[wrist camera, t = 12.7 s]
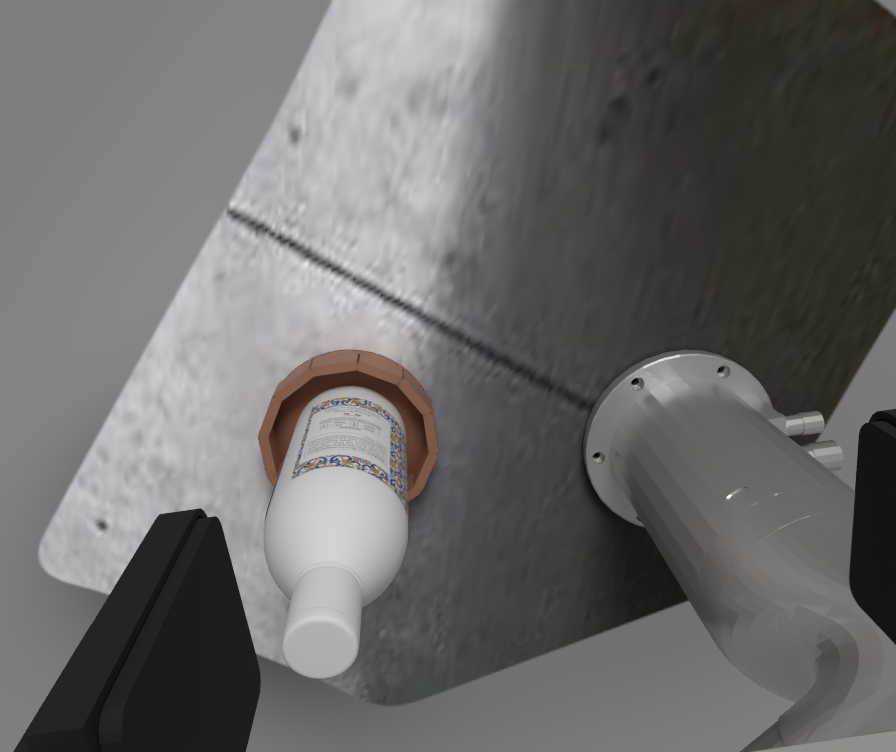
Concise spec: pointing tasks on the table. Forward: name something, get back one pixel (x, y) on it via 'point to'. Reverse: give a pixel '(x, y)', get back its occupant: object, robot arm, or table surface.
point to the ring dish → (352, 372)
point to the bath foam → (337, 524)
